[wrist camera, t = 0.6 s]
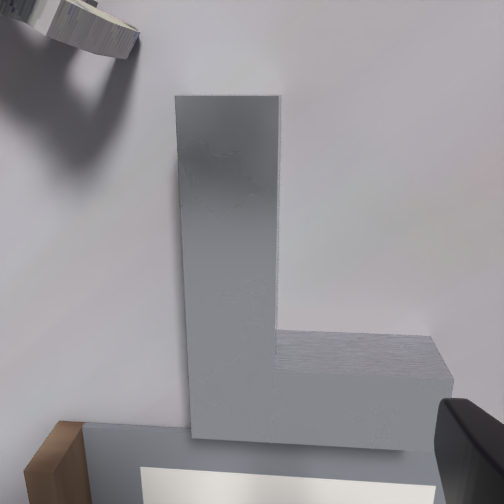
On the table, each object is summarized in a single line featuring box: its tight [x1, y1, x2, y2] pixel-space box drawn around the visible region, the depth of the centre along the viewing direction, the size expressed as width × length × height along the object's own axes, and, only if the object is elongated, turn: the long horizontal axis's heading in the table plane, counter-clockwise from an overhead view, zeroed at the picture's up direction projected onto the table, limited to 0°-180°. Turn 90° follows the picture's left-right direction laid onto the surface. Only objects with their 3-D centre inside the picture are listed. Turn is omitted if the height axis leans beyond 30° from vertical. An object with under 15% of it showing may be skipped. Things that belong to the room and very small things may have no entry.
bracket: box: [175, 95, 454, 452], centre depth 17 cm, size 12×9×3 cm
